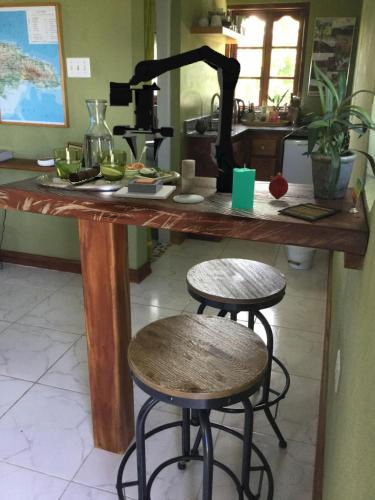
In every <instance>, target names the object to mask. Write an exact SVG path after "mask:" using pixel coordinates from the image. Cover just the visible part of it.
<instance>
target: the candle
mask: <svg viewBox="0 0 375 500" xmlns="http://www.w3.org/2000/svg"><path fill="white" fill-rule="evenodd" d="M243 167H244V168H242V167H241V169H238V168H235V169H234V170H233V191H232V193H231V194H232V196H231V207H232V208H233V209H236V210H252V209H253V208H254V202H255V201H254V199H255V186H256V171H257V170H256V169H250V168H247V167H246V164H244V166H243Z"/></svg>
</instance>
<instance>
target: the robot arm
mask: <svg viewBox="0 0 375 500" xmlns="http://www.w3.org/2000/svg"><path fill="white" fill-rule="evenodd" d="M199 62H203V63H205V64H206V65H207V66H209V67H210V68H212V69H213V70H214V71H216V77H217V81H218V86H219V87H218V88H219V101H218V102H219V105H218V106H219V107H218V122H217V137H216V140H215V142H211V143H210V150H211V151H210V154H209V156H210V157H211V161H212V162H213V163H214V164H215V165H216V167H217V169H218V172H217V175H216V177H215V189H216V192H218V193H231V194H232V191H233V170H234V169H235V168H238V169H242V167H241V166H240V165H239V163H237V162H236V160H235V154H234V153H235V151H234V146H233V141H232V131H233V130H232V129H233V128H232V127H233V114H234V101H235V100H234V99H235V98H234V97H235V89H236V87H237V85H238V82H239V78H240V74H241V70H242V69H241V68H242V67H241V63H240V62H239V60H238V59H237V58H236V57H235V58H234V57H227V55H224V54H223V53H221V52H219V51H217V50H215V49H213V48H211V46H209V45H207V44H206V45H204V44H203V45H201V46H200V47H198V48H194V49H190V50H187V51H184V52H182V53H178V54H175V55H172V56H168V57H166V58H156V59H145V60H140V61H138V62H137V64H135V66H134V68H133V74H132V76H131V78H129V80H128V82H116V81H110V82H109V93H108V94H109V107H129V106H130V104H133V99H134V111H133V114H134V121H135V124H134V126H133V127H131V125H130V124H117V125H114V126H113V128H112V136H122V137H121V139H123V140H124V139H125V141H126V143H127V145H128V146H129V149H130V151H131V153H132V155H133V157H134V160H136V161H137V160H138V148H137V137H138V136H137V135H141V134H142V135H155V137H153V152H152V154H153V161H156V160H157V157H158V155H159V150H160V147H161V145H162V144H163V142H164V140H167V139H168V138H175V137H177V136H178V134H177V133H178V129H177V128H178V127H176V126H174V125H173V126H172V125H171V126H170V125H162V126H161V127H159V121H160V120H159V119H158V117H157V116H156V112H155V111H156V110H155V91H156V92H157V91H158V92H159V91H161V87H159V86H158V84H157V82H156V81H154V82H152V84H141V87H139V88H135V87H136V86H137V85H139V84H140V83H148V82H150V81H152V80H154V79H157V78H158V77H160V76H162V75H163V74H165V73H167V72H170V71H174V70H176V69H179V68H180V69H181V68H183V67H186V66H189V65H192V64H196V63H199ZM132 86H133V87H134V86H135V87H134V88H131V87H132ZM133 91H134V94H133ZM133 95H134V98H133ZM136 134H137V135H136Z"/></svg>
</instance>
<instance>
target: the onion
mask: <svg viewBox="0 0 375 500" xmlns="http://www.w3.org/2000/svg"><path fill="white" fill-rule="evenodd" d="M268 192H269V193H270V195H271V196H272V197H273V198H275V200H280V199H281V198H283V197H285V196H286V195H287V193H288V192H289V183H288V180H287V179H286V178H285V177H284V176H283V175H282V173H281V172H278V173H277V175H275V176H274V177H273V178H272V179H271V180H270V182H269V184H268Z"/></svg>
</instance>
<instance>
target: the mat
mask: <svg viewBox="0 0 375 500" xmlns="http://www.w3.org/2000/svg"><path fill="white" fill-rule="evenodd" d="M173 201H174V202H176V203H180V204H198V203H203V202H204V201H205V197H204V196H203V195H202V196H201V195H199V194H198V195H197V194H177V195H174V196H173Z"/></svg>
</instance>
